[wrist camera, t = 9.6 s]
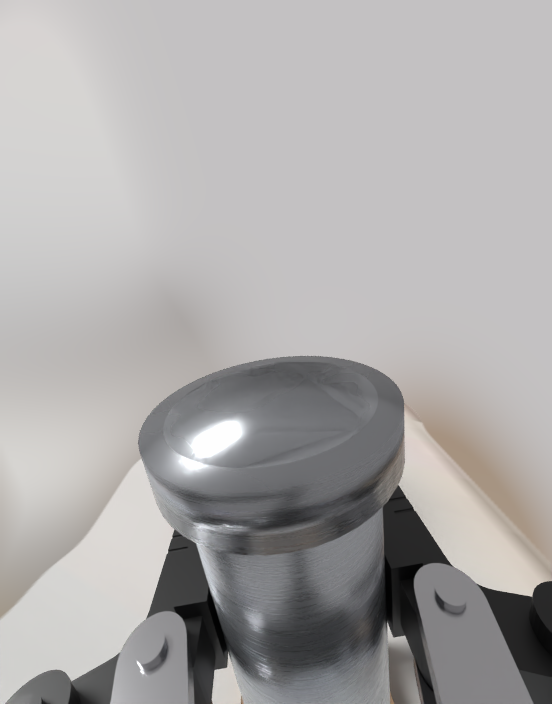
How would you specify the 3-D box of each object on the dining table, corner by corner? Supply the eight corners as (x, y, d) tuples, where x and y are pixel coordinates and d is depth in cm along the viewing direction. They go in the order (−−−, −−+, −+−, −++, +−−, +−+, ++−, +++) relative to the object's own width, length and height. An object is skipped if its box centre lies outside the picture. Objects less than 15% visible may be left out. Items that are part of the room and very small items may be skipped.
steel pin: (248, 915, 7) (69, 523, 3) (251, 651, 11) (179, 372, 8) (446, 873, 7) (483, 453, 3) (369, 629, 11) (350, 345, 8)
